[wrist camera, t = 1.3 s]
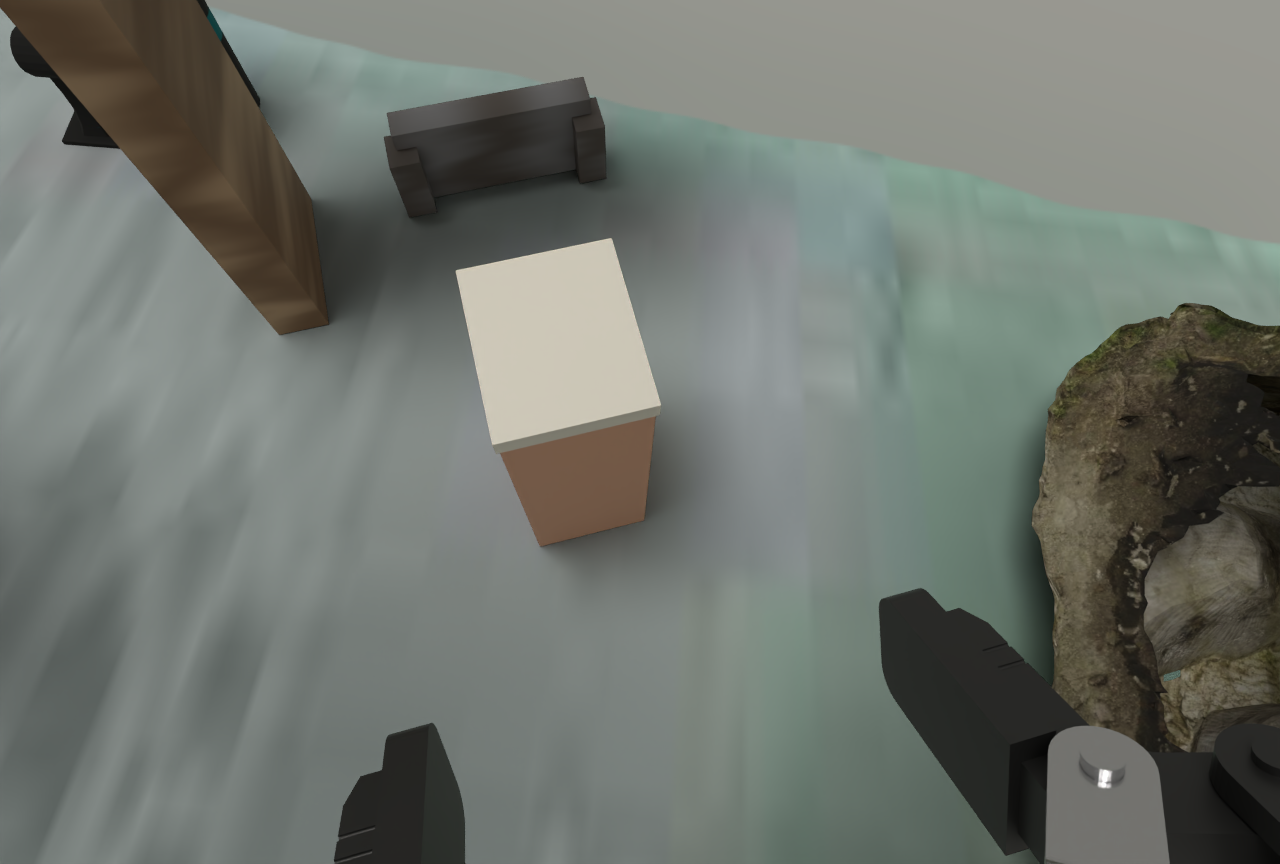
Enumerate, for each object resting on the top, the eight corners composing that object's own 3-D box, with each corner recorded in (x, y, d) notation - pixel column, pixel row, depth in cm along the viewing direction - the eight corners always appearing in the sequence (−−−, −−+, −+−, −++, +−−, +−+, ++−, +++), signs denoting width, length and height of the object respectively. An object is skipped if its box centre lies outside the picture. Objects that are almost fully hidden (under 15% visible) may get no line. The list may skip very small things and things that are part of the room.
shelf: (279, 334, 40) (-131, -147, 18) (264, 207, 43) (-108, -344, 21) (631, 260, 42) (643, -253, 20) (595, 143, 45) (572, -419, 23)
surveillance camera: (-80, -132, 35) (148, -114, 35) (91, 80, 46) (263, 94, 46) (-135, -40, 33) (107, -21, 33) (58, 159, 44) (238, 173, 44)
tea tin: (538, 549, 37) (492, 444, 23) (511, 428, 39) (455, 270, 26) (646, 521, 37) (661, 405, 24) (614, 404, 39) (611, 237, 26)
